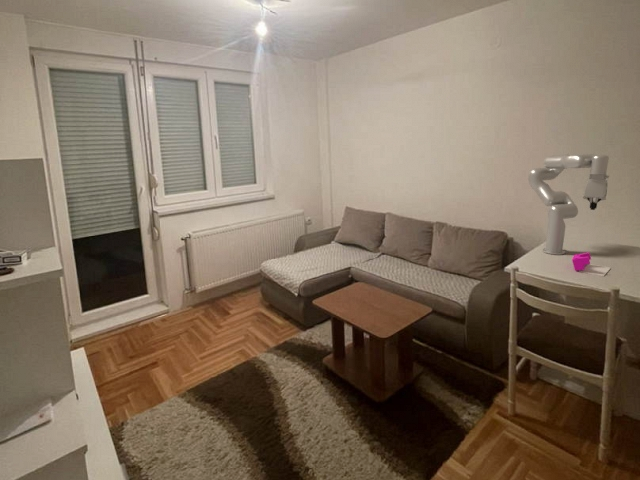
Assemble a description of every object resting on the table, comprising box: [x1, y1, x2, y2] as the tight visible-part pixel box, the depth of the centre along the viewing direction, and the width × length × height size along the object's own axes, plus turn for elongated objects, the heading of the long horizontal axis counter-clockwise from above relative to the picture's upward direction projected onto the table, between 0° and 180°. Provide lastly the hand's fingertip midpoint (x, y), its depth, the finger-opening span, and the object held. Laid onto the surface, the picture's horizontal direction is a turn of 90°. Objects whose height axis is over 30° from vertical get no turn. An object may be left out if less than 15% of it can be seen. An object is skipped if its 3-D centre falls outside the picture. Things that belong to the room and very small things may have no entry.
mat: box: [577, 263, 612, 277], centre depth 211 cm, size 18×12×1 cm, turn 133°
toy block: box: [571, 252, 592, 271], centre depth 213 cm, size 15×6×8 cm
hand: (592, 209), depth 217 cm, fingers closed
